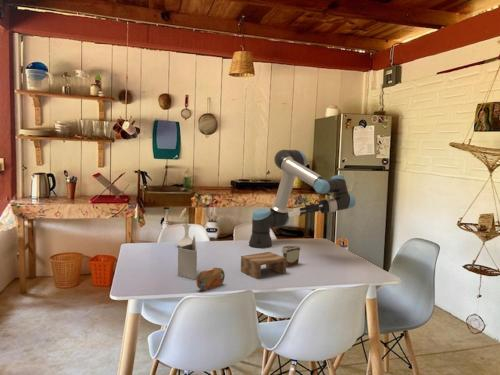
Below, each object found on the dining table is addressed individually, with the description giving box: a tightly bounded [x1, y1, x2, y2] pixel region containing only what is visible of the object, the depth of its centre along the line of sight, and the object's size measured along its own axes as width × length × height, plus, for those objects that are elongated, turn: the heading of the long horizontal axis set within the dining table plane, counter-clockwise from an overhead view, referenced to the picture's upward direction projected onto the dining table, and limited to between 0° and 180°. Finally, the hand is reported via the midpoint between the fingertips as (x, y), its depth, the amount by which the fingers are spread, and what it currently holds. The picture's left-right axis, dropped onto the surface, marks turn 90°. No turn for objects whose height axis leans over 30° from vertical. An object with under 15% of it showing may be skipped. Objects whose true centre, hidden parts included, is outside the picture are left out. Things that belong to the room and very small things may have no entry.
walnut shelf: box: [240, 251, 287, 280], centre depth 202 cm, size 14×18×8 cm
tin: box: [196, 267, 226, 291], centre depth 177 cm, size 15×3×8 cm, turn 138°
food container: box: [281, 245, 301, 269], centre depth 217 cm, size 12×6×10 cm, turn 134°
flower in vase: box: [177, 207, 193, 247], centre depth 250 cm, size 13×11×25 cm
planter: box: [177, 235, 198, 280], centre depth 194 cm, size 16×8×19 cm, turn 15°
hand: (291, 212), depth 222 cm, fingers open, 13 cm apart
